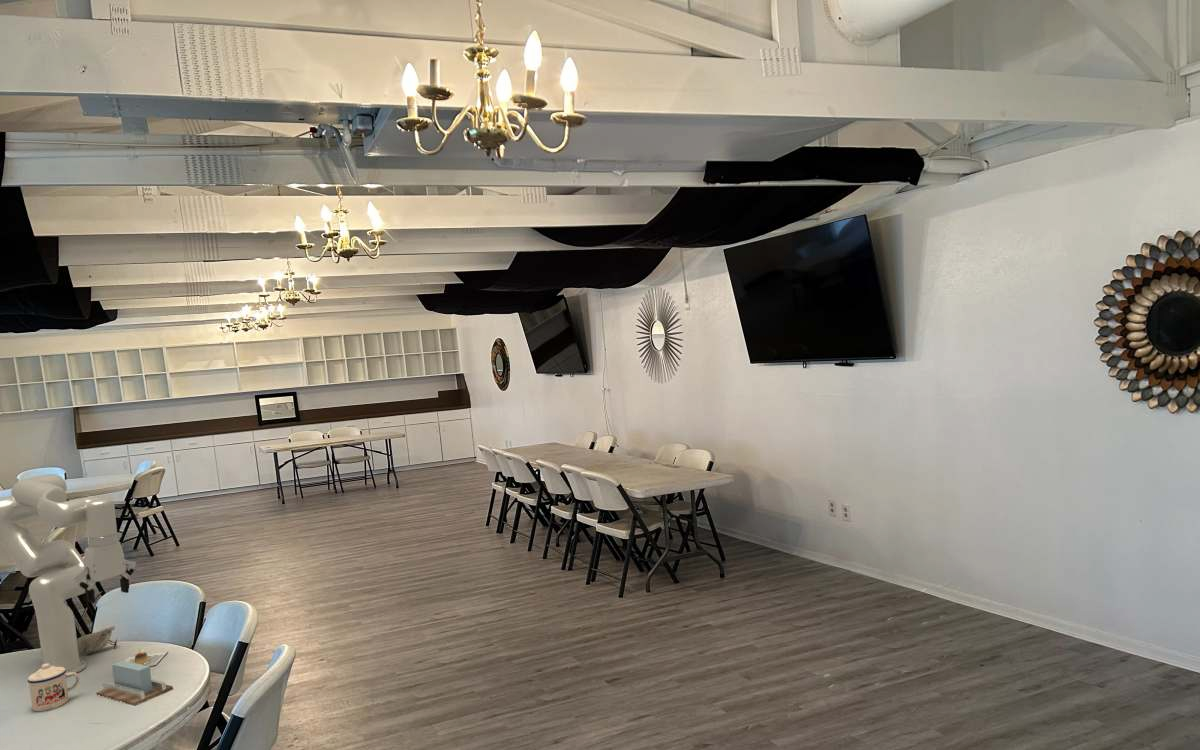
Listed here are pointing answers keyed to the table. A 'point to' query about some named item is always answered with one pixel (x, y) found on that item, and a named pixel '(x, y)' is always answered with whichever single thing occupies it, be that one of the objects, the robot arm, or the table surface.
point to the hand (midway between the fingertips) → (108, 597)
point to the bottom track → (132, 692)
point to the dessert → (144, 657)
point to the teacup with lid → (49, 687)
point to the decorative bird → (95, 641)
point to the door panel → (132, 675)
